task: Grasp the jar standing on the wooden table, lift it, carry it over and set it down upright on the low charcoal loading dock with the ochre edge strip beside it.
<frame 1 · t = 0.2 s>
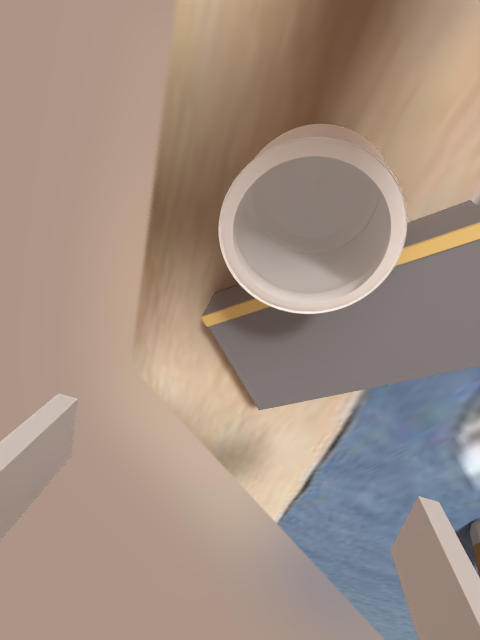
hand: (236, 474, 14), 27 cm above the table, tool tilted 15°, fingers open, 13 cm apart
jar: (316, 179, 33), on the table
dock: (346, 309, 39), on the table
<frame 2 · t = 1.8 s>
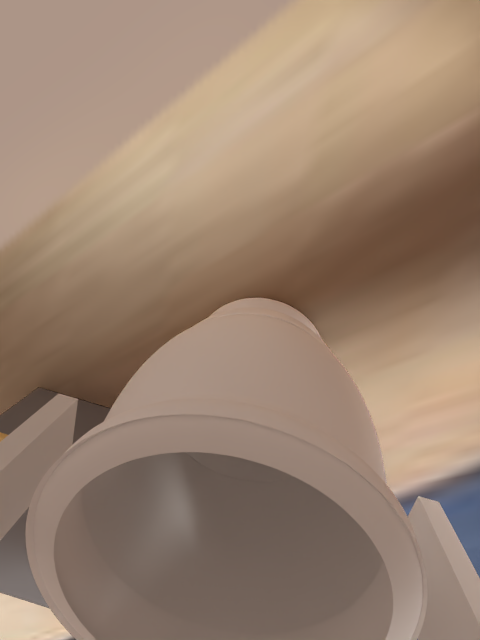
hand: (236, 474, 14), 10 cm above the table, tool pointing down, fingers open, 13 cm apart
jar: (259, 357, 24), on the table
dock: (190, 511, 28), on the table
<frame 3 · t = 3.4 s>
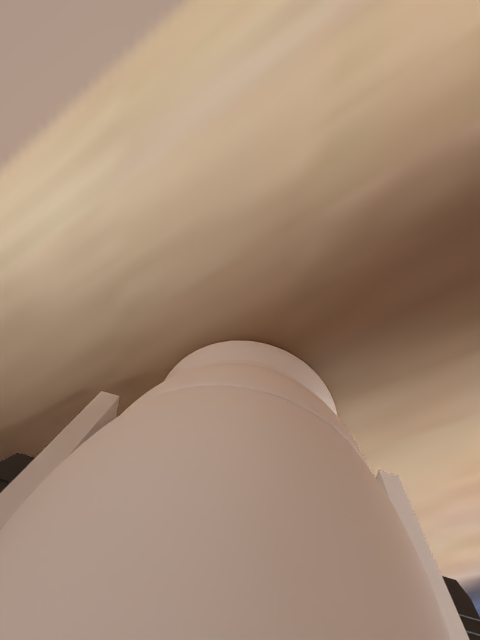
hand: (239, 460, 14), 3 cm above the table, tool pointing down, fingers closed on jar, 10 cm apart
jar: (246, 417, 17), on the table, touching gripper
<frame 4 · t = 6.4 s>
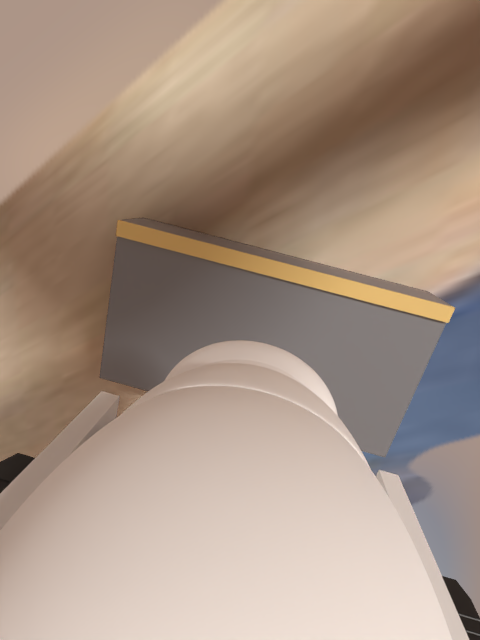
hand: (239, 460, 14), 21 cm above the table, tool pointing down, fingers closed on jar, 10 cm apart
jar: (246, 417, 17), point 17 cm above the table, touching gripper
dock: (263, 326, 34), on the table
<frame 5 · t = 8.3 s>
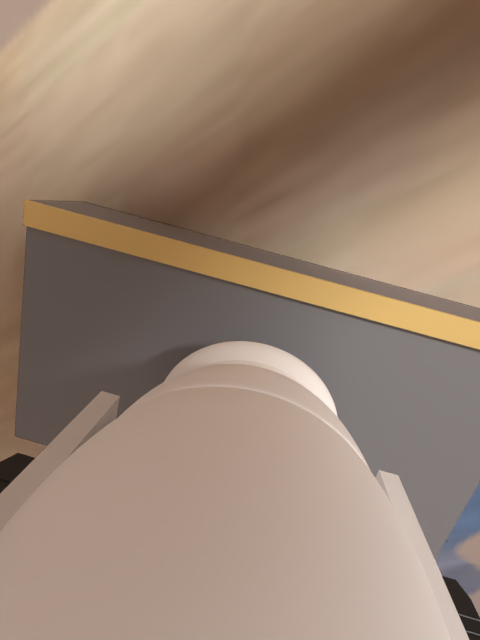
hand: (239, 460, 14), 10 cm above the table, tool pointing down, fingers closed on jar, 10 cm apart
jar: (246, 417, 17), point 7 cm above the table, touching gripper
dock: (257, 358, 24), on the table
when the fingers open (9 cm above the table, at t = 9.5 s): jar drops 1 cm, resting on dock.
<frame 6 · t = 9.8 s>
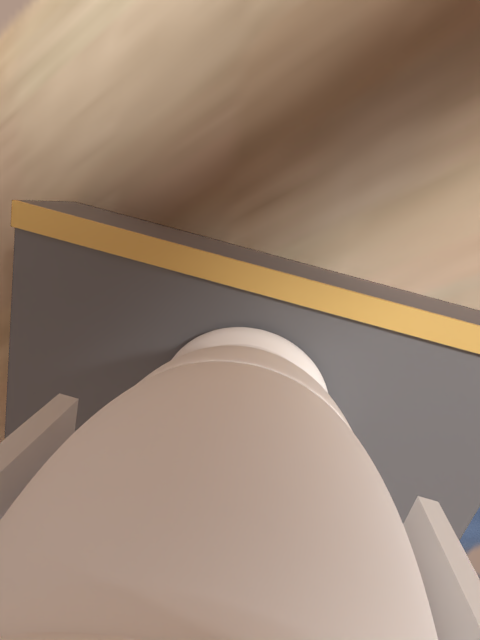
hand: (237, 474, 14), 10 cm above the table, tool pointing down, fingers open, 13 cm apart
jar: (244, 399, 19), point 5 cm above the table, touching dock
dock: (255, 364, 23), on the table
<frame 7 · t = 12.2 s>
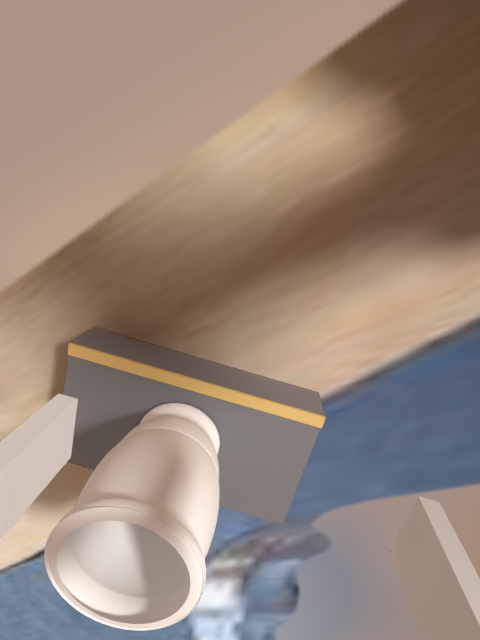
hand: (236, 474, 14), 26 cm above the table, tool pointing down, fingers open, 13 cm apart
jar: (180, 436, 38), point 5 cm above the table, touching dock
dock: (192, 413, 42), on the table
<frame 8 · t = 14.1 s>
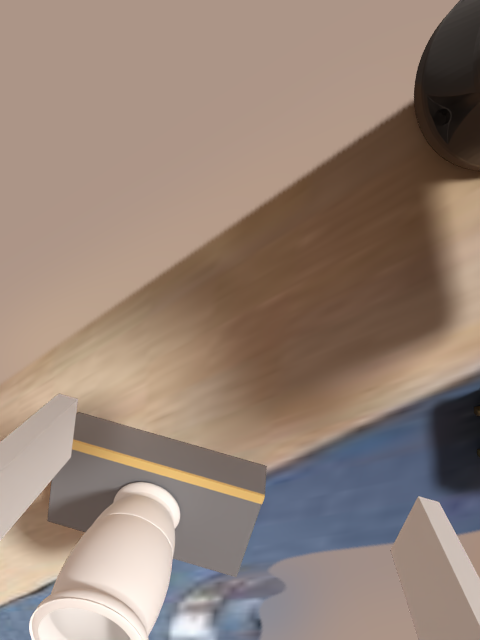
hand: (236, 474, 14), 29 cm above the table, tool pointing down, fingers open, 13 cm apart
jar: (148, 506, 46), point 5 cm above the table, touching dock
dock: (162, 480, 50), on the table
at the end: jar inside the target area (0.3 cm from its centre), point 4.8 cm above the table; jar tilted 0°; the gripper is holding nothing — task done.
